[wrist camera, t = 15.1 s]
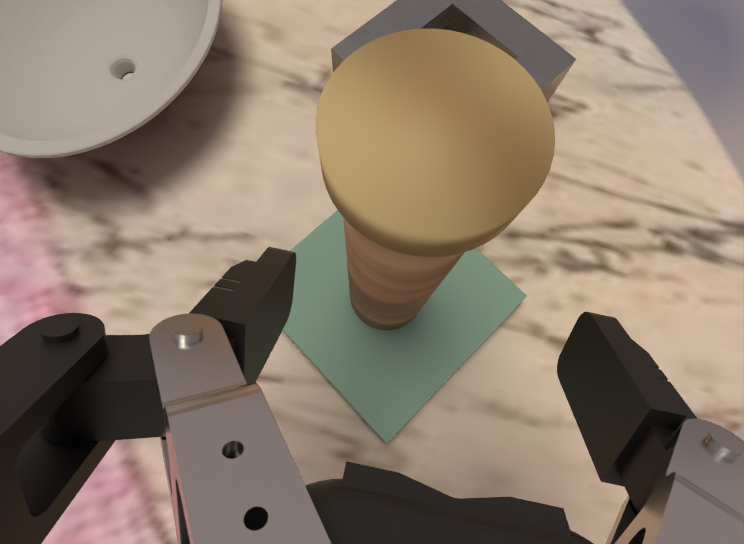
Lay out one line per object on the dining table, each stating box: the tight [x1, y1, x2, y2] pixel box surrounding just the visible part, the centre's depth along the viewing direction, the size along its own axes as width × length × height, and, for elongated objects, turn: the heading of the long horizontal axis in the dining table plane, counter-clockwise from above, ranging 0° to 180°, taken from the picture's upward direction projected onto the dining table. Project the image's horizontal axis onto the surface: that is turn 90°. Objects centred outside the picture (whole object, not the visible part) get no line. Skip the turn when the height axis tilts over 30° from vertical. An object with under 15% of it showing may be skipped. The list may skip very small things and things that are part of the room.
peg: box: [316, 29, 555, 330], centre depth 16 cm, size 5×5×15 cm
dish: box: [0, 0, 222, 158], centre depth 25 cm, size 18×14×5 cm
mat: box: [283, 210, 527, 444], centre depth 23 cm, size 11×11×1 cm
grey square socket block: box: [331, 0, 576, 103], centre depth 26 cm, size 10×10×4 cm
